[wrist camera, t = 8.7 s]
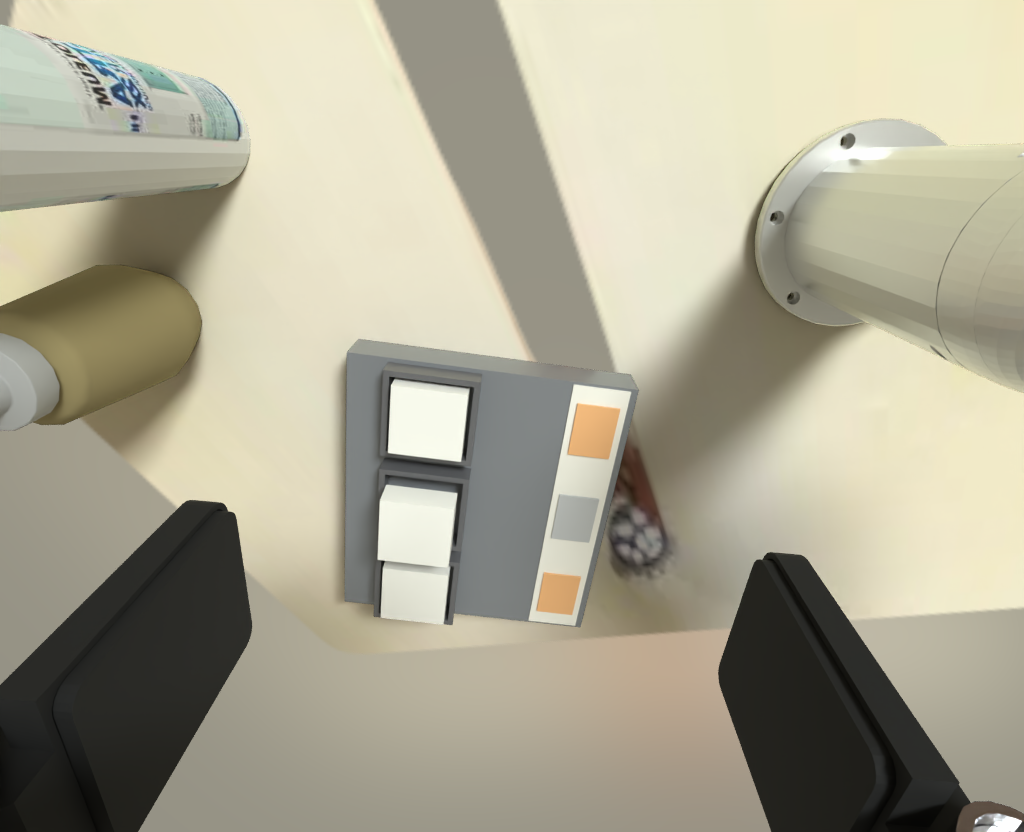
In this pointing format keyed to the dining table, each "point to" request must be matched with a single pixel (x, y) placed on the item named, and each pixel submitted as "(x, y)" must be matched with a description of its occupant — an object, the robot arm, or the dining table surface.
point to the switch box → (493, 477)
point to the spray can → (107, 126)
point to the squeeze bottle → (91, 343)
